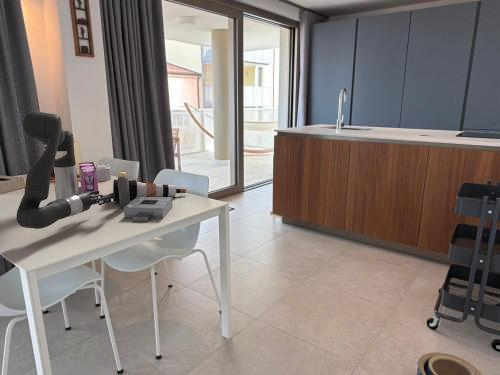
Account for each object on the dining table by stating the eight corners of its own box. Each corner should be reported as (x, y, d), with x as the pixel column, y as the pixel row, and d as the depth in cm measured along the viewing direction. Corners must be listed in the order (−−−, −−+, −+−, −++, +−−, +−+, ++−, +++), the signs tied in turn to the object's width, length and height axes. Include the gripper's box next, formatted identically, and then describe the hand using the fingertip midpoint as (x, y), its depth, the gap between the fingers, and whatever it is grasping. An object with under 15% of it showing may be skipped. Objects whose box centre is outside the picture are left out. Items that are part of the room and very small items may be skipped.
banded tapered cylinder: (185, 205, 177) (188, 190, 171) (113, 205, 164) (114, 189, 158) (182, 192, 184) (185, 177, 178) (113, 191, 171) (113, 175, 165)
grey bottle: (118, 208, 156) (115, 173, 152) (122, 206, 160) (119, 171, 156) (128, 209, 156) (125, 173, 152) (131, 206, 160) (129, 171, 156)
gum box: (99, 195, 177) (97, 169, 174) (82, 197, 174) (79, 170, 170) (96, 185, 198) (93, 161, 195) (80, 186, 194) (77, 162, 191)
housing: (120, 221, 141) (119, 210, 139) (140, 203, 164) (140, 194, 163) (160, 221, 140) (159, 211, 139) (174, 204, 163) (174, 194, 162)
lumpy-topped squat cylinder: (93, 182, 206) (92, 167, 203) (91, 177, 216) (89, 164, 214) (112, 180, 211) (111, 165, 209) (108, 176, 222) (107, 162, 219)
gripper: (87, 196, 128) (119, 186, 143) (59, 192, 134) (92, 183, 148) (89, 216, 130) (120, 204, 145) (61, 211, 135) (94, 200, 150)
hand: (106, 193), depth 147 cm, fingers open, 8 cm apart
